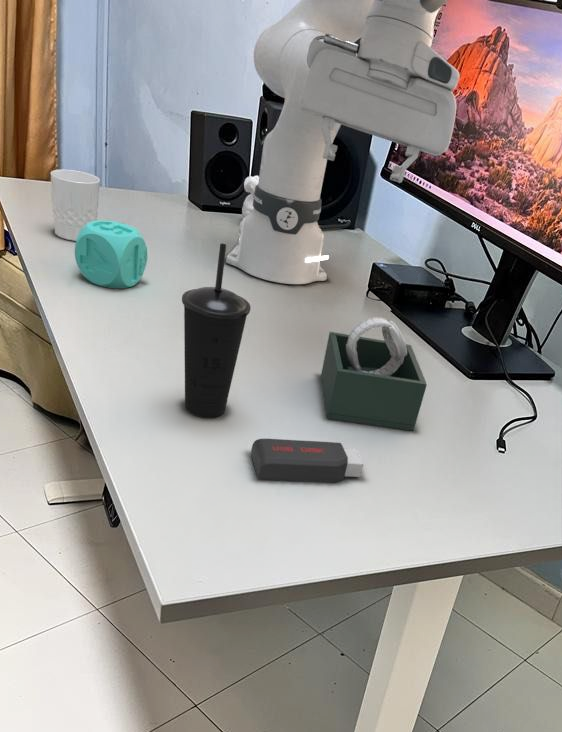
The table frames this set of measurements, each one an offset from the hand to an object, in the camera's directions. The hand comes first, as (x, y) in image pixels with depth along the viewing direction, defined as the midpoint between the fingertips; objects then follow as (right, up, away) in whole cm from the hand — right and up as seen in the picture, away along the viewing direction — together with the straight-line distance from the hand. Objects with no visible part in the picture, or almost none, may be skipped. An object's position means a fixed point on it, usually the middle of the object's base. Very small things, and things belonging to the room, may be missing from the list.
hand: (362, 170), depth 101 cm
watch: (0, -30, +2) cm, 30 cm away
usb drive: (-7, -41, -15) cm, 44 cm away
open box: (0, -30, +3) cm, 31 cm away
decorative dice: (-40, -8, +20) cm, 46 cm away
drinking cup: (-19, -33, -8) cm, 39 cm away
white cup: (-51, +4, +34) cm, 61 cm away
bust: (-22, +16, +63) cm, 69 cm away
